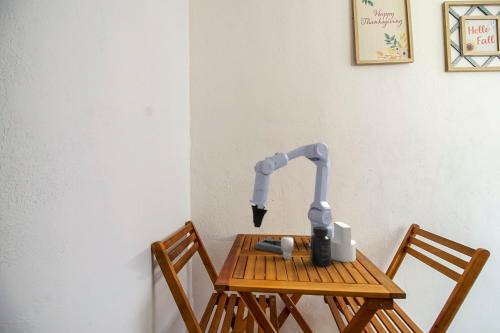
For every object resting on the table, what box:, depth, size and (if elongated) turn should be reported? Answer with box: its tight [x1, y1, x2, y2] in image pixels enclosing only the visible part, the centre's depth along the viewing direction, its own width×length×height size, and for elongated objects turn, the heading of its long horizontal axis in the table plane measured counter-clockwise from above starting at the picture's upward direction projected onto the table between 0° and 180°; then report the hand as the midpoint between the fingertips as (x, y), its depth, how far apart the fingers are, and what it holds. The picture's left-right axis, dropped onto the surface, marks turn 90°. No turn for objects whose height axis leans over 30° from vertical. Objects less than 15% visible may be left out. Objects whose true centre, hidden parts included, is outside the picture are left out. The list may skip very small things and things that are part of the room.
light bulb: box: [280, 236, 294, 261], centre depth 81 cm, size 4×4×7 cm
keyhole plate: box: [254, 237, 283, 255], centre depth 92 cm, size 12×10×2 cm
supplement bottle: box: [309, 227, 332, 268], centre depth 77 cm, size 7×7×12 cm
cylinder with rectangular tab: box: [331, 221, 357, 263], centre depth 83 cm, size 9×9×12 cm
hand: (256, 225), depth 87 cm, fingers open, 7 cm apart
